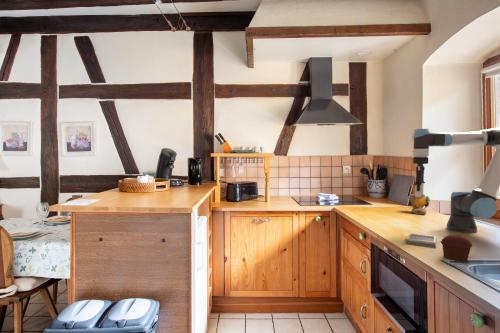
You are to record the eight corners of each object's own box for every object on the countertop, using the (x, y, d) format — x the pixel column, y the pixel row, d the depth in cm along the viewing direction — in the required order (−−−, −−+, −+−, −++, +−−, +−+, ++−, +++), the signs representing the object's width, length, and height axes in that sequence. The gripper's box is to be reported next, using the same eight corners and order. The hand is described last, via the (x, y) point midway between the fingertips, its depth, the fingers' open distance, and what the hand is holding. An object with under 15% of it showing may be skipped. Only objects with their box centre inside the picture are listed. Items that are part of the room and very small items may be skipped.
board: (436, 240, 164) (436, 236, 163) (435, 247, 151) (435, 243, 151) (409, 236, 171) (409, 232, 170) (406, 243, 158) (406, 239, 158)
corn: (430, 193, 177) (426, 196, 161) (431, 206, 177) (427, 211, 161) (416, 192, 182) (410, 196, 165) (416, 205, 182) (411, 210, 165)
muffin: (439, 259, 135) (440, 236, 134) (440, 252, 144) (441, 231, 144) (472, 265, 128) (473, 241, 128) (471, 257, 137) (472, 235, 137)
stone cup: (409, 210, 246) (410, 191, 245) (426, 212, 240) (427, 192, 239) (408, 213, 233) (408, 194, 232) (426, 215, 227) (426, 195, 226)
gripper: (415, 156, 184) (414, 192, 185) (410, 156, 164) (409, 197, 165) (430, 156, 180) (428, 194, 181) (426, 157, 160) (425, 199, 161)
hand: (419, 195), depth 173 cm, fingers closed on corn, 11 cm apart
